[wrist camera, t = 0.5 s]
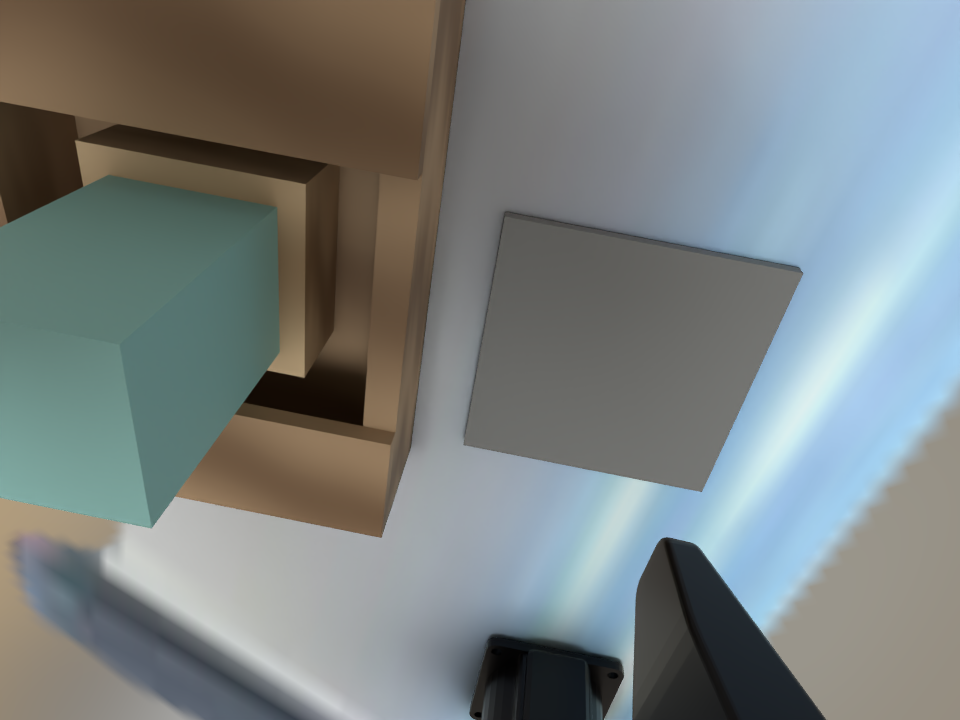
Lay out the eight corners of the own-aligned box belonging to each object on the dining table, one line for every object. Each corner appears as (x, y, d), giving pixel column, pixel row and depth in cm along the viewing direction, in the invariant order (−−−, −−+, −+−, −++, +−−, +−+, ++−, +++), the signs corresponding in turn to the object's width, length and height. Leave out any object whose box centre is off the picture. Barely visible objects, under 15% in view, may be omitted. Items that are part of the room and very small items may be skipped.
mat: (700, 484, 25) (701, 492, 24) (464, 438, 25) (463, 444, 24) (799, 267, 20) (803, 273, 19) (505, 212, 20) (504, 216, 20)
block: (279, 352, 19) (151, 528, 13) (132, 323, 19) (-60, 485, 14) (276, 206, 17) (119, 344, 11) (108, 174, 17) (-138, 294, 11)
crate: (410, 447, 25) (381, 537, 21) (109, 388, 26) (27, 466, 22) (469, -27, 17) (437, -19, 13) (13, -110, 17) (-153, -128, 13)
